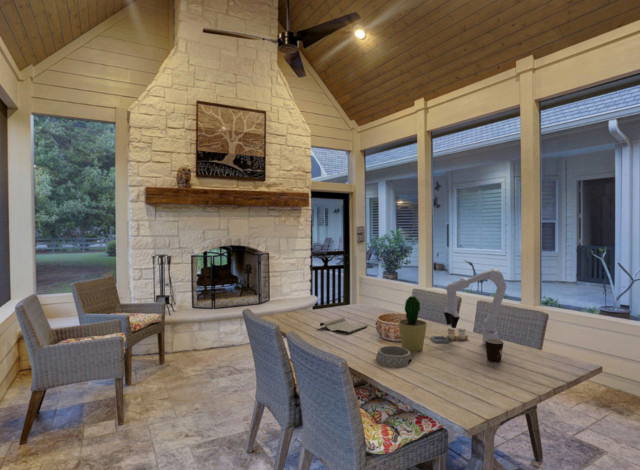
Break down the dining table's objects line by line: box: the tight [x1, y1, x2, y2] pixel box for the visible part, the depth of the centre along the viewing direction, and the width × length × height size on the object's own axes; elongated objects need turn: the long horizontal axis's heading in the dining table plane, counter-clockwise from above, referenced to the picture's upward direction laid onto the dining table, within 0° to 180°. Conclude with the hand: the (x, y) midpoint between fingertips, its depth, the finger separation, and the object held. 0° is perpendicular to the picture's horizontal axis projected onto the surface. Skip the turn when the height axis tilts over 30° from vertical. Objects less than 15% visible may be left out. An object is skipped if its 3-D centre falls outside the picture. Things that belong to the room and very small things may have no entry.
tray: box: [430, 335, 450, 344], centre depth 224 cm, size 8×8×2 cm
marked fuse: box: [447, 327, 456, 340], centre depth 227 cm, size 4×4×6 cm
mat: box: [319, 316, 369, 335], centre depth 254 cm, size 23×24×5 cm
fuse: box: [457, 327, 466, 340], centre depth 227 cm, size 4×4×6 cm
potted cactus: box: [398, 295, 428, 353], centre depth 212 cm, size 15×15×30 cm
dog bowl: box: [375, 345, 413, 368], centre depth 194 cm, size 17×18×5 cm
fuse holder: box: [444, 334, 471, 342], centre depth 227 cm, size 7×14×3 cm, turn 93°
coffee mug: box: [485, 339, 505, 363], centre depth 194 cm, size 12×9×10 cm
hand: (451, 326), depth 227 cm, fingers open, 7 cm apart
